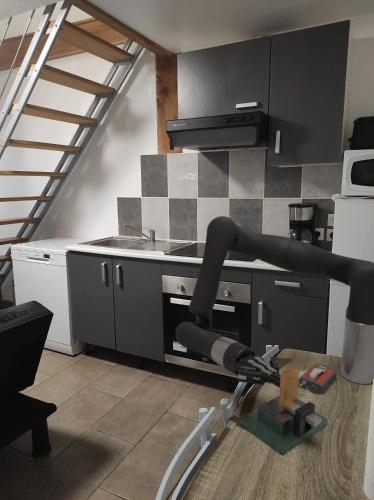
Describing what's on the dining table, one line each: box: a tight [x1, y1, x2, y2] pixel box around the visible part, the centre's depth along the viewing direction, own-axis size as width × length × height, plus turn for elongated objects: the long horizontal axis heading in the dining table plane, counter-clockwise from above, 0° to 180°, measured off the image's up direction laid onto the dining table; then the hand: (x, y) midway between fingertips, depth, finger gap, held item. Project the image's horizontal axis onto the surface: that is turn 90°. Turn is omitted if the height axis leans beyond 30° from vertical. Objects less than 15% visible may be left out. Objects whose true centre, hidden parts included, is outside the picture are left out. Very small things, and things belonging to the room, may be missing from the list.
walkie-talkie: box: [298, 363, 338, 395], centre depth 100 cm, size 9×4×20 cm
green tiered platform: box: [239, 395, 328, 455], centre depth 83 cm, size 16×12×7 cm
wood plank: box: [278, 365, 321, 427], centre depth 79 cm, size 5×8×9 cm, turn 38°
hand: (287, 384), depth 82 cm, fingers closed
